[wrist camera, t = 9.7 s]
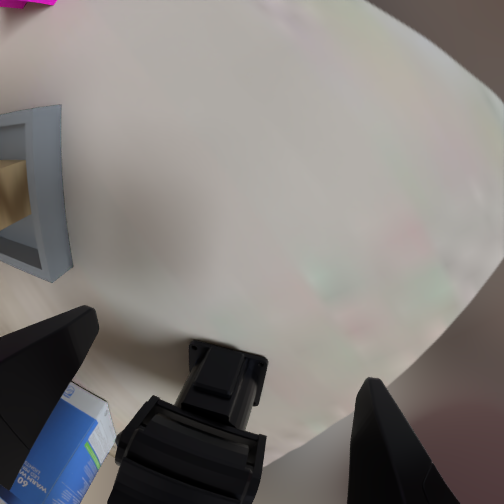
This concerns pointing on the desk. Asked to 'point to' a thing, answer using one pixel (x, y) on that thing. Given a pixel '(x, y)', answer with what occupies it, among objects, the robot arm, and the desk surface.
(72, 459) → the string lights box
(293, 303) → the desk surface
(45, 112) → the tray
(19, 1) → the toy block
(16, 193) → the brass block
